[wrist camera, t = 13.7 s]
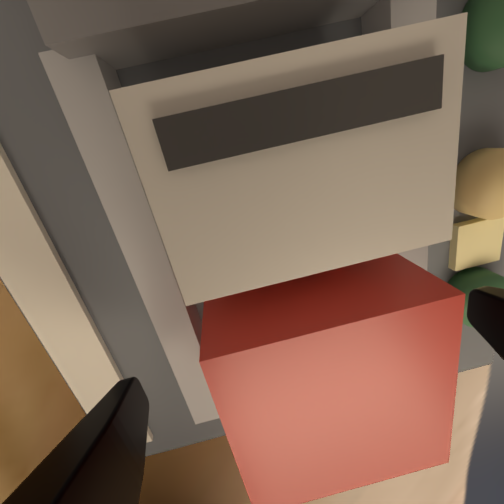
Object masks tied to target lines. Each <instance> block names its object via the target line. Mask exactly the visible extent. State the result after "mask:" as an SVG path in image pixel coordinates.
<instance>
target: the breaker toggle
mask: <svg viewBox="0 0 504 504" xmlns="http://www.w3.org/2000/svg"><path fill="white" fill-rule="evenodd" d="M467 14H468V12H465V13H461V14H456V15H452V16H447V17H443V18H438V19H433V20H429V21H424V22H420V23H415V24H411V25H406V26H401V27H397V28H392V29H388V30H383V31H379V32H374V33H369V34H365V35H360V36H356V37H351V38H347V39H342V40H337V41H333V42H328V43H324V44H319V45H315V46H310V47H306V48H301V49H296V50H292V51H287V52H283V53H278V54H274V55H269V56H264V57H260V58H255V59H251V60H246V61H242V62H237V63H232V64H228V65H223V66H219V67H214V68H210V69H205V70H200V71H196V72H191V73H187V74H182V75H178V76H173V77H168V78H164V79H159V80H155V81H150V82H146V83H141V84H136V85H132V86H127V87H123V88H118V89H114V90H109V93H110V95H111V98H112V101H113V104H114V107H115V109H116V112H117V115H118V118H119V121H120V123H121V126H122V129H123V132H124V135H125V137H126V140H127V143H128V146H129V149H130V151H131V154H132V157H133V160H134V163H135V165H136V168H137V171H138V174H139V176H140V179H141V182H142V185H143V188H144V190H145V193H146V196H147V199H148V202H149V204H150V207H151V210H152V213H153V216H154V218H155V221H156V224H157V227H158V230H159V232H160V235H161V238H162V241H163V244H164V246H165V249H166V252H167V255H168V258H169V260H170V263H171V266H172V269H173V271H174V274H175V277H176V280H177V283H178V285H179V288H180V291H181V294H182V297H183V299H184V302H185V305H186V306H189V305H193V304H197V303H201V302H205V301H209V300H213V299H217V298H221V297H225V296H229V295H233V294H237V293H241V292H245V291H249V290H253V289H257V288H261V287H265V286H269V285H273V284H277V283H281V282H285V281H289V280H293V279H297V278H301V277H305V276H309V275H313V274H317V273H321V272H325V271H329V270H333V269H337V268H341V267H345V266H349V265H353V264H357V263H361V262H365V261H369V260H373V259H377V258H381V257H385V256H389V255H393V254H397V253H401V252H405V251H409V250H413V249H417V248H421V247H425V246H429V245H433V244H437V243H441V242H445V241H449V240H452V230H453V216H454V201H455V187H456V172H457V158H458V143H459V129H460V115H461V100H462V86H463V71H464V57H465V43H466V28H467Z"/></svg>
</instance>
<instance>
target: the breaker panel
mask: <svg viewBox="0 0 504 504" xmlns="http://www.w3.org/2000/svg"><path fill="white" fill-rule="evenodd" d="M465 12H468V14H467V28H466V43H465V57H464V71H463V86H462V100H461V115H460V129H459V143H458V158H457V172H456V187H455V201H454V216H453V230H452V240H449V241H445V242H441V243H437V244H433V245H429V246H425V247H421V248H417V249H413V250H409V251H405V252H401V253H397V254H399V255H401V256H402V257H404V258H406V259H408V260H409V261H411V262H413V263H414V264H416V265H418V266H419V267H421V268H423V269H425V270H426V271H428V272H430V273H431V274H433V275H435V276H436V277H438V278H440V279H441V280H443V281H445V282H447V283H448V284H450V285H452V286H453V287H455V288H457V289H458V290H460V291H462V292H463V293H465V304H464V315H463V325H462V335H461V345H460V355H459V365H458V373H459V372H463V371H466V370H470V369H474V368H477V367H481V366H485V365H489V364H492V363H493V357H494V351H495V350H494V349H493V348H492V347H491V346H490V345H489V344H488V343H487V341H486V340H485V339H484V338H483V337H482V336H481V335H480V334H479V333H478V332H477V331H476V330H475V328H474V327H473V326H472V325H471V324H470V323H469V321H468V319H467V305H468V295H469V293H470V291H471V290H473V289H476V288H480V287H483V286H492V287H497V288H502V289H504V0H0V279H1V281H2V282H3V284H4V285H5V287H6V288H7V290H8V292H9V293H10V295H11V296H12V298H13V299H14V301H15V303H16V304H17V306H18V307H19V309H20V311H21V312H22V314H23V315H24V317H25V318H26V320H27V322H28V323H29V325H30V326H31V328H32V330H33V331H34V333H35V334H36V336H37V337H38V339H39V341H40V342H41V344H42V345H43V347H44V348H45V350H46V352H47V353H48V355H49V356H50V358H51V360H52V361H53V363H54V364H55V366H56V367H57V369H58V371H59V372H60V374H61V375H62V377H63V378H64V380H65V382H66V383H67V385H68V386H69V388H70V390H71V391H72V393H73V394H74V396H75V397H76V399H77V401H78V402H79V404H80V405H81V407H82V409H83V410H84V412H85V413H86V415H87V414H88V413H89V412H90V410H91V409H92V408H93V407H94V406H95V405H96V404H97V403H98V402H99V401H100V400H101V399H102V398H103V397H104V396H105V395H106V394H107V393H108V392H109V390H110V389H111V388H112V387H113V386H114V385H115V384H116V383H117V382H118V381H120V380H122V379H126V378H130V377H137V378H138V379H139V381H140V383H141V385H142V387H143V389H144V391H145V393H146V395H147V397H148V400H149V419H148V430H147V442H146V453H145V457H146V456H150V455H154V454H157V453H161V452H165V451H169V450H172V449H176V448H180V447H183V446H187V445H191V444H195V443H198V442H202V441H206V440H210V439H213V438H217V437H221V436H224V435H226V434H225V431H224V428H223V426H222V423H221V420H220V418H219V415H218V412H217V409H216V407H215V404H214V401H213V398H212V396H211V393H210V390H209V388H208V385H207V382H206V379H205V377H204V374H203V371H202V369H201V366H200V363H199V357H200V344H201V331H202V318H203V306H204V302H201V303H197V304H193V305H189V306H186V305H185V302H184V299H183V297H182V294H181V291H180V288H179V285H178V283H177V280H176V277H175V274H174V271H173V269H172V266H171V263H170V260H169V258H168V255H167V252H166V249H165V246H164V244H163V241H162V238H161V235H160V232H159V230H158V227H157V224H156V221H155V218H154V216H153V213H152V210H151V207H150V204H149V202H148V199H147V196H146V193H145V190H144V188H143V185H142V182H141V179H140V176H139V174H138V171H137V168H136V165H135V163H134V160H133V157H132V154H131V151H130V149H129V146H128V143H127V140H126V137H125V135H124V132H123V129H122V126H121V123H120V121H119V118H118V115H117V112H116V109H115V107H114V104H113V101H112V98H111V95H110V93H109V90H114V89H118V88H123V87H127V86H132V85H136V84H141V83H146V82H150V81H155V80H159V79H164V78H168V77H173V76H178V75H182V74H187V73H191V72H196V71H200V70H205V69H210V68H214V67H219V66H223V65H228V64H232V63H237V62H242V61H246V60H251V59H255V58H260V57H264V56H269V55H274V54H278V53H283V52H287V51H292V50H296V49H301V48H306V47H310V46H315V45H319V44H324V43H328V42H333V41H337V40H342V39H347V38H351V37H356V36H360V35H365V34H369V33H374V32H379V31H383V30H388V29H392V28H397V27H401V26H406V25H411V24H415V23H420V22H424V21H429V20H433V19H438V18H443V17H447V16H452V15H456V14H461V13H465Z"/></svg>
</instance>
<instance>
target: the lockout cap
mask: <svg viewBox="0 0 504 504" xmlns="http://www.w3.org/2000/svg"><path fill="white" fill-rule="evenodd" d="M464 304H465V293H463V292H462V291H460V290H458V289H457V288H455V287H453V286H452V285H450V284H448V283H447V282H445V281H443V280H441V279H440V278H438V277H436V276H435V275H433V274H431V273H430V272H428V271H426V270H425V269H423V268H421V267H419V266H418V265H416V264H414V263H413V262H411V261H409V260H408V259H406V258H404V257H402V256H401V255H399V254H393V255H389V256H385V257H381V258H377V259H373V260H369V261H365V262H361V263H357V264H353V265H349V266H345V267H341V268H337V269H333V270H329V271H325V272H321V273H317V274H313V275H309V276H305V277H301V278H297V279H293V280H289V281H285V282H281V283H277V284H273V285H269V286H265V287H261V288H257V289H253V290H249V291H245V292H241V293H237V294H233V295H229V296H225V297H221V298H217V299H213V300H209V301H205V302H204V306H203V318H202V331H201V344H200V357H199V363H200V366H201V369H202V371H203V374H204V377H205V379H206V382H207V385H208V388H209V390H210V393H211V396H212V398H213V401H214V404H215V407H216V409H217V412H218V415H219V418H220V420H221V423H222V426H223V428H224V431H225V434H226V437H227V439H228V442H229V445H230V447H231V450H232V453H233V456H234V458H235V461H236V464H237V466H238V469H239V472H240V475H241V477H242V480H243V483H244V486H245V488H246V491H247V494H248V496H249V499H250V502H251V504H302V503H305V502H309V501H312V500H316V499H319V498H323V497H327V496H330V495H334V494H337V493H341V492H344V491H348V490H352V489H355V488H359V487H362V486H366V485H370V484H373V483H377V482H380V481H384V480H387V479H391V478H395V477H398V476H402V475H405V474H409V473H412V472H416V471H420V470H423V469H427V468H430V467H434V466H437V465H441V464H445V463H448V462H449V455H450V445H451V435H452V425H453V415H454V405H455V395H456V385H457V375H458V365H459V355H460V345H461V335H462V325H463V315H464Z"/></svg>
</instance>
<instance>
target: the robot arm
mask: <svg viewBox="0 0 504 504" xmlns="http://www.w3.org/2000/svg"><path fill="white" fill-rule="evenodd" d="M467 319H468V321H469V323H470V324H471V325H472V326H473V327H474V328H475V330H476V331H477V332H478V333H479V334H480V335H481V336H482V337H483V338H484V339H485V340H486V341H487V343H488V344H489V345H490V346H491V347H492V348H493V349H494V350H495V351H496V352H497V353H498V354H499V355H500V357H501V358H502V359H503V360H504V289H502V288H497V287H492V286H483V287H480V288H476V289H473V290H471V291H470V293H469V295H468V305H467ZM148 419H149V400H148V397H147V395H146V393H145V391H144V389H143V387H142V385H141V383H140V381H139V379H138V378H137V377H130V378H126V379H122V380H120V381H118V382H117V383H116V384H115V385H114V386H113V387H112V388H111V389H110V390H109V392H108V393H107V394H106V395H105V396H104V397H103V398H102V399H101V400H100V401H99V402H98V403H97V404H96V405H95V406H94V407H93V408H92V409H91V410H90V412H89V413H88V414H87V415H86V416H85V417H84V418H83V419H82V420H81V421H80V422H79V423H78V424H77V425H76V426H75V427H74V428H73V429H72V430H71V432H70V433H69V434H68V435H67V436H66V437H65V438H64V439H63V440H62V441H61V442H60V443H59V444H58V445H57V446H56V447H55V448H54V449H53V450H52V452H51V453H50V454H49V455H48V456H47V457H46V458H45V459H44V460H43V461H42V462H41V463H40V464H39V465H38V466H37V467H36V468H35V469H34V470H33V472H32V473H31V474H30V475H29V476H28V477H27V478H26V479H25V480H24V481H23V482H22V483H21V484H20V485H19V486H18V487H17V488H16V489H15V490H14V492H13V493H12V494H11V495H10V496H9V497H8V498H7V499H6V500H5V501H4V502H3V503H2V504H138V503H139V497H140V492H141V486H142V480H143V474H144V465H145V453H146V442H147V430H148Z"/></svg>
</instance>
